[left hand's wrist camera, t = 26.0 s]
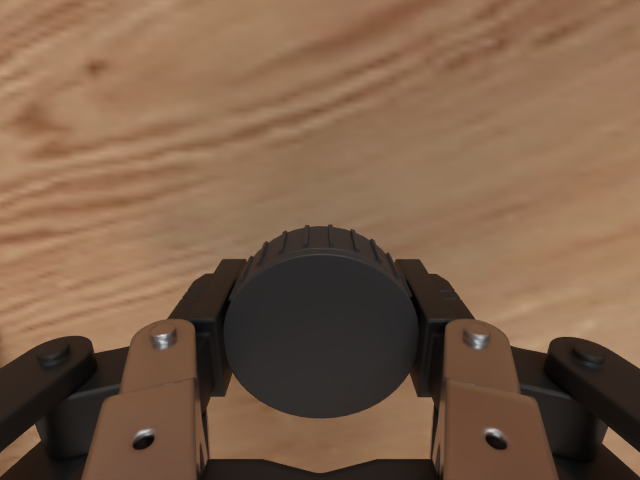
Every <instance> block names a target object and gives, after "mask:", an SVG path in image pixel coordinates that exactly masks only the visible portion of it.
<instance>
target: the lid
mask: <svg viewBox="0 0 640 480" xmlns="http://www.w3.org/2000/svg"><path fill="white" fill-rule="evenodd" d="M410 297H412V294H411V292H410V290H409V287H408V285H407V283H406V281H405V279H404V277H403V275H402V273H401V271H400V269H399V270H397V268H396V266H395V264H394V262H393V260H392V258H391V256H390V254H389V253H387V254H385V253H384V252H383V251H382V249H381V248H379V247H378V246H377V245H376V243H375V241H374V240H373V239H371V240H368V239H367V238H365V237H363V236H361V235H359V234H357V233H355V230H353V229H351V231H348V230H345V229H341V228H335V227H333V226H332V225H328V227H324V226H316V227H309V225H306V226H305V228H302V229H297V230H293V231H291V232H288V233H287V231H284V232H283V234H282V235H281V236H279V237H277V238H275V239H273V240H272V241H271V242H269V243H268V242H267V241H266V242H265V243H264V244H263V247H262V249H261V250H259V251H258V252H257V253H256V255H255V256H254V257H252V256H250V258H249V260H248V262H247V264H246V266H245V268H244V271H243V273H240V275H239V277H238V279H237V282H236V284H235V286H234V288H233V290H232V292H231V295H230V297H229V299H228V301H231V303H230V305H229V308H228V310H227V312H226V315H225V320H224V324H223V334H224V343H225V352H226V359H227V362H228V364H229V367H230V369H231V370H232V372H233V374H234V375H235V377H236V378H237V380H238V381H239V382H240V383H241V385H242V386H243V387H244V388H245V389H246V390H247V391H248V392H249V393H250V394H252V395H253V396H254V397H255V398H257V399H258V400H260V401H261V402H263V403H265V404H266V405H268V406H270V407H272V408H274V409H276V410H279V411H282V412H285V413H288V414H291V415H295V416H300V417H307V418H336V417H341V416H347V415H351V414H354V413H358V412H360V411H363V410H365V409H368V408H370V407H372V406H374V405H376V404H377V403H379V402H381V401H382V400H384V399H385V398H387V397H388V396H389V395H390V394H391V393H393V392H394V391H395V390H396V389H397V388H398V387H399V386H400V385H401V383H402V382H403V381H404V380H405V378H406V377H407V375H408V374H409V372H410V371H411V369H412V367H413V365H414V363H415V360H416V353H417V344H418V336H419V322H418V317H417V314H416V311H415V308H414V306H413V304H412V302H411V299H410Z"/></svg>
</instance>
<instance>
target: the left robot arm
mask: <svg viewBox="0 0 640 480" xmlns="http://www.w3.org/2000/svg"><path fill="white" fill-rule="evenodd" d="M246 264H247V260H246V259H222V261H221V262H220V264H219V266H218V267H217V269H216V270H215V272H214V274H205V275H203V276H201V277H200V278H198V279H197V280H195V281H194V282H193V283H192V285H191V286H190V288H189V289H188V292H186V293H185V295H184V296H183V299H181V300H180V302H179V303H178V304H177V306H176V307H175V309H174V310H173V312H172V313H171V314H170V316H169V317H168V319H166V320H161V321H157V322H154V323H152V324H149V325H147V326H145V327H144V328H142V329H140V330H139V331H138V332H137V333H136V334H135V335H134V336H133V338H132V340H131V343H130V346H128V347H124V348H120V349H114V350H109V351H104V352H99V353H94V349H93V346H92V343H91V341H90V340H89V339H88V338H86V337H82V336H67V337H62V338H57V339H54V340H51V341H48V342H45V343H43V344H40V345H38V346H36V347H34V348H33V349H31V350H29V351H28V352H26V353H24V354H23V355H21V356H20V357H18V358H17V359H15V360H13V361H12V362H10V363H9V364H7V365H5V366H4V367H2V368H1V369H0V452H1V451H3V450H4V449H5V448H6V447H7V446H9V445H10V444H11V443H12V442H13V441H15V440H16V439H17V438H18V437H19V436H21V435H22V434H23V433H24V432H25V431H27V430H28V429H29V428H30V427H31V426H33V425H34V424H35V425H36V428H37V431H38V433H39V436H40V439H41V441H40V442H39V443H38V444H37V445H36V446H35V447H34V448H32V449H31V450H30V451H29V452H28V453H27V454H26V455H25V456H23V457H22V458H21V459H20V460H19V461H18V462H17V463H16V464H15V465H13V466H12V467H11V468H10V469H9V470H8V471H7V472H6V473H4V474H3V475H2V476H1V477H0V480H640V477H639V476H638V475H637V474H636V473H634V472H633V471H632V470H631V469H630V468H629V467H628V466H627V465H626V464H624V463H623V462H622V461H621V460H620V459H619V458H618V457H617V456H615V455H614V454H613V453H612V452H611V451H610V450H609V449H608V448H606V447H605V446H604V445H603V444H602V441H603V439H604V436H605V434H606V431H607V429H608V426H609V427H610V428H611V429H612V430H613V431H615V432H616V433H617V434H618V435H619V436H621V437H622V438H623V439H624V440H625V441H627V442H628V443H629V444H630V445H631V446H633V447H634V448H635V449H636V450H637V451H639V452H640V369H639V368H638V367H636V366H635V365H633V364H631V363H630V362H628V361H627V360H625V359H624V358H622V357H620V356H619V355H617V354H616V353H614V352H612V351H611V350H609V349H607V348H605V347H603V346H601V345H599V344H596V343H594V342H591V341H588V340H584V339H580V338H574V337H559V338H556V339H554V340H552V341H551V342H550V345H549V348H548V352H547V354H546V353H541V352H536V351H531V350H526V349H521V348H516V347H513V346H510V343H509V340H508V338H507V336H506V335H505V334H504V333H503V332H502V331H501V330H500V329H498V328H496V327H495V326H493V325H491V324H488V323H486V322H483V321H479V320H475V318H474V317H473V315H472V314H471V313H470V311H469V310H468V308H467V307H466V306H465V304H464V303H463V301H462V300H460V297H459V296H458V295H457V293H456V292H454V289H453V288H452V286H451V285H450V283H449V282H448V281H447V280H445V279H443V278H442V277H440V276H439V275H437V274H428V272H427V270H426V269H425V267H424V266H423V264H422V263H421V261H420V260H419V259H396V260H395V263H394V264H395V266H396V268H397V270H399V269H400V271H401V273H402V275H403V277H404V279H405V281H406V283H407V285H408V287H409V290H410V292H411V294H412V297H410V299H411V302H412V304H413V306H414V308H415V311H416V314H417V317H418V322H419V336H418V344H417V353H416V360H415V363H414V365H413V367H412V369H411V371H410V375H411V378H412V381H413V384H414V387H415V390H416V393H417V396H418V397H432V399H433V402H434V408H433V414H432V426H431V440H430V455H429V459H376V460H372V461H369V462H365V463H361V464H357V465H353V466H349V467H345V468H342V469H338V470H334V471H330V472H326V473H314V472H310V471H306V470H302V469H298V468H295V467H291V466H287V465H283V464H279V463H275V462H271V461H268V460H264V459H211V455H210V440H209V426H208V414H207V406H208V403H209V400H210V398H211V397H225V394H226V391H227V388H228V385H229V382H230V379H231V376H232V373H233V372H232V370H231V369H230V367H229V364H228V362H227V359H226V352H225V343H224V334H223V324H224V320H225V315H226V312H227V310H228V308H229V305H230V303H231V301H228V299H229V297H230V295H231V292H232V290H233V288H234V286H235V284H236V282H237V279H238V277H239V275H240V273H243V271H244V268H245V266H246Z"/></svg>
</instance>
